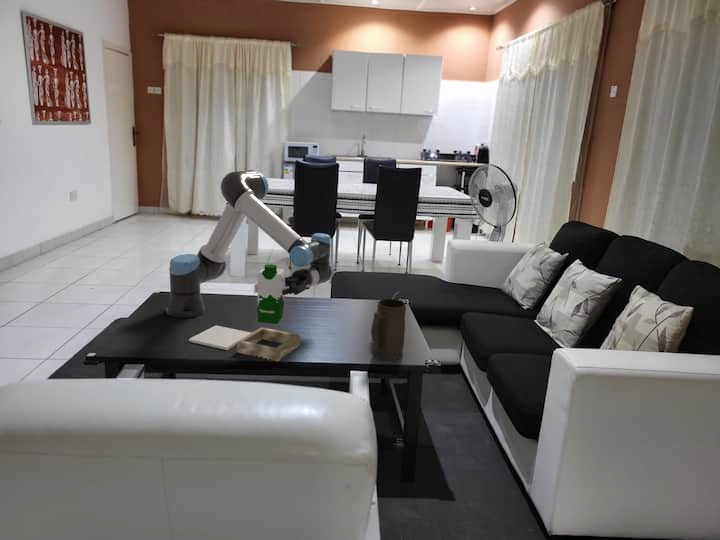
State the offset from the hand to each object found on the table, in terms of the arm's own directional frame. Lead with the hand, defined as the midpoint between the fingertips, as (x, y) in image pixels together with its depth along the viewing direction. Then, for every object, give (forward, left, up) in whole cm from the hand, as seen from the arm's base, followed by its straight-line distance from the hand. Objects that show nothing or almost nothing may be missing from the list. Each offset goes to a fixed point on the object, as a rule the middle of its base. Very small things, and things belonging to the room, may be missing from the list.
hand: (265, 291), depth 178 cm
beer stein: (+39, +16, -22) cm, 48 cm away
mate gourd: (+29, +50, -22) cm, 62 cm away
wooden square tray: (0, +3, -22) cm, 22 cm away
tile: (-20, +3, -22) cm, 30 cm away
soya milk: (+1, +3, -11) cm, 12 cm away
